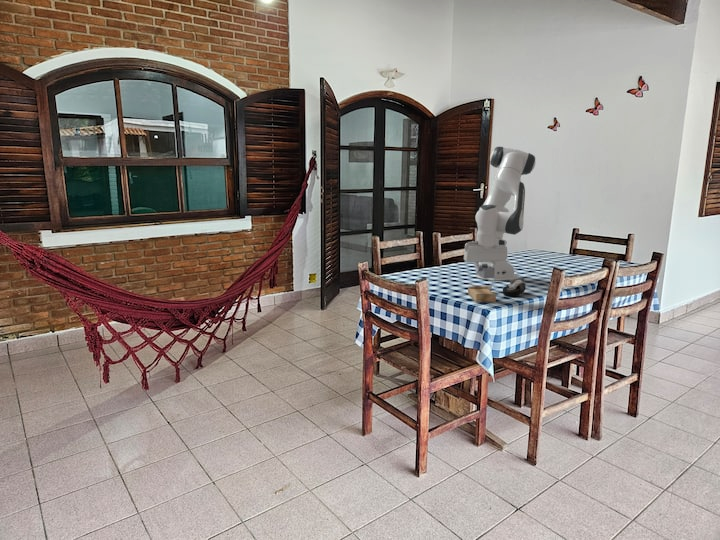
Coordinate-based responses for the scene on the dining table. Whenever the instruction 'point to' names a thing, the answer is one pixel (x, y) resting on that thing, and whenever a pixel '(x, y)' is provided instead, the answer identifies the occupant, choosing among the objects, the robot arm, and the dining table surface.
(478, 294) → the stand
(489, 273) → the housing
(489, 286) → the bushing
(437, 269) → the dining table surface
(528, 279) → the dining table surface
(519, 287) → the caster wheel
